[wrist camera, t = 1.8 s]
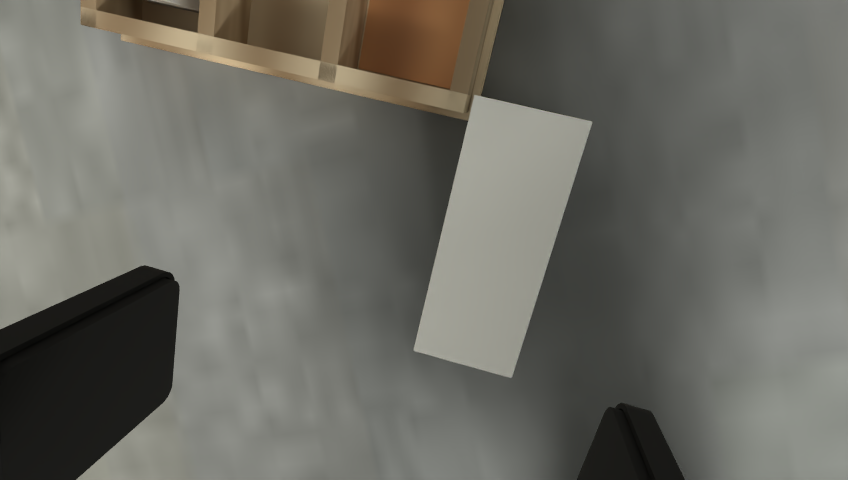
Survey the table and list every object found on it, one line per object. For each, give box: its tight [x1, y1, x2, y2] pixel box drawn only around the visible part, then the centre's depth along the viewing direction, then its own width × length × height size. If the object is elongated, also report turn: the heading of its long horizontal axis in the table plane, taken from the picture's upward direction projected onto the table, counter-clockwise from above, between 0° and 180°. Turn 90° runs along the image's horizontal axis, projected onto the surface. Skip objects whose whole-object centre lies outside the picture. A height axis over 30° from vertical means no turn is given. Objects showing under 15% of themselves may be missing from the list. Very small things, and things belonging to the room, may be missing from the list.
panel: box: [413, 95, 592, 378], centre depth 22 cm, size 4×10×9 cm, turn 168°
